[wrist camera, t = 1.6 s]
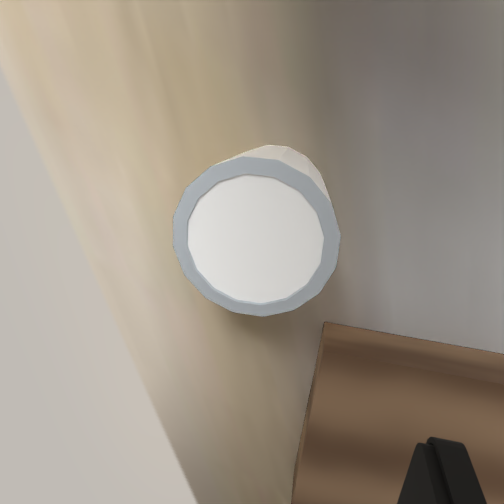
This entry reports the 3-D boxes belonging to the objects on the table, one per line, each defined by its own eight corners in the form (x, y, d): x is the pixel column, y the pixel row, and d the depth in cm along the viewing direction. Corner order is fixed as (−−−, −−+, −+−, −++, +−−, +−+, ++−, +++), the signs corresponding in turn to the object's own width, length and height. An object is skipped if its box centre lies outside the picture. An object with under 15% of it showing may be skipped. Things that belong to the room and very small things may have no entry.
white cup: (282, 279, 26) (266, 346, 20) (187, 204, 26) (139, 249, 19) (365, 189, 24) (379, 235, 17) (262, 103, 23) (237, 117, 17)
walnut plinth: (324, 321, 27) (323, 350, 24) (536, 360, 26) (561, 395, 23) (294, 470, 32) (290, 508, 29) (472, 508, 30) (487, 552, 28)
